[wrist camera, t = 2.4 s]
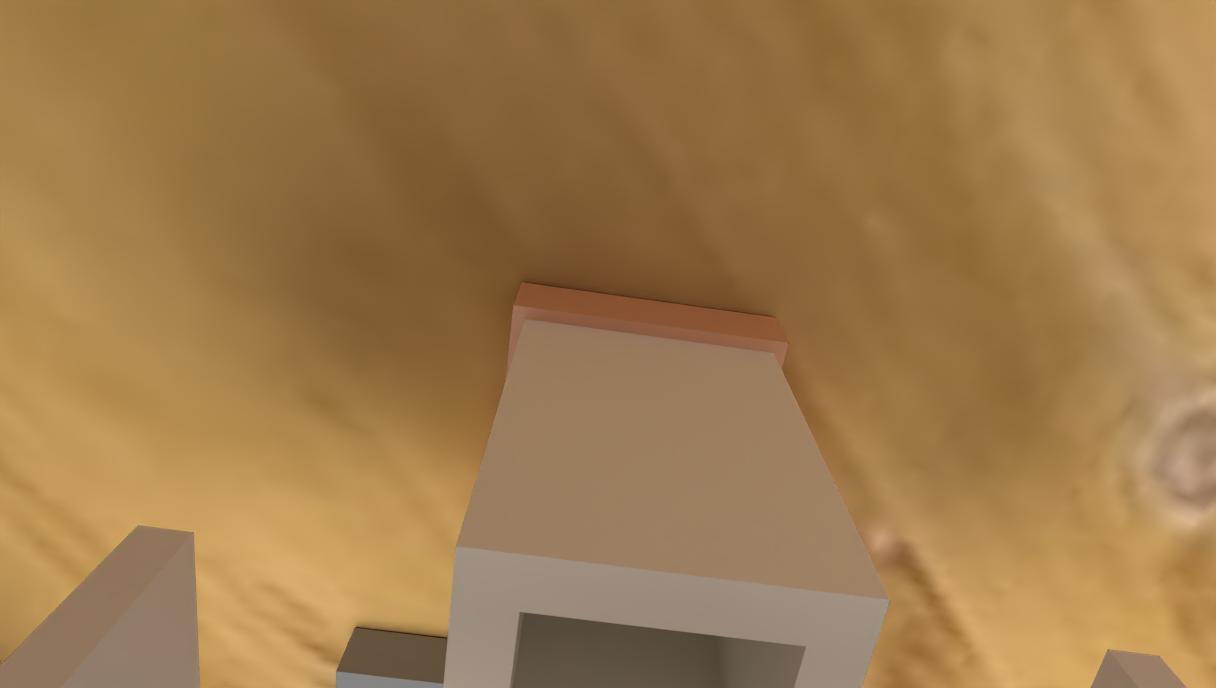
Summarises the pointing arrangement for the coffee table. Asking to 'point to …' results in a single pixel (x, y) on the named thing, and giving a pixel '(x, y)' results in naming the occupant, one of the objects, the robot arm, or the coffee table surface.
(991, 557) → the coffee table surface
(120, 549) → the robot arm
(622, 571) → the sleeve
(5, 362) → the coffee table surface
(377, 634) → the pin board
